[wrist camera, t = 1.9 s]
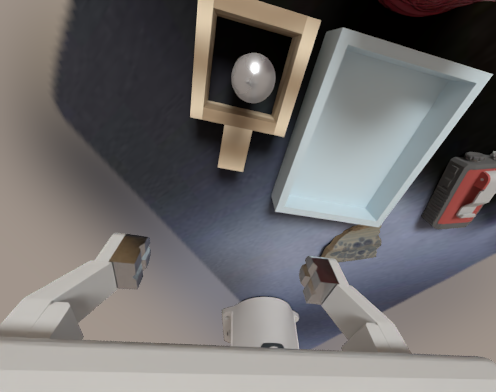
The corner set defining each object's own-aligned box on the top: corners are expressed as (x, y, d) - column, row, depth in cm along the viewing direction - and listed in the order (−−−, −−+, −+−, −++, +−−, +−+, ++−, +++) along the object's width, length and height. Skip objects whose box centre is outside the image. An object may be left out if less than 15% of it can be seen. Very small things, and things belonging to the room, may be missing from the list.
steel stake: (257, 89, 24) (268, 107, 15) (231, 83, 23) (227, 97, 15) (264, 58, 22) (281, 59, 14) (236, 50, 22) (235, 47, 13)
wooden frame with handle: (267, 163, 29) (271, 177, 25) (193, 149, 27) (187, 161, 24) (307, 26, 21) (321, 20, 17) (205, -5, 19) (199, -18, 16)
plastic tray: (365, 210, 34) (378, 227, 31) (271, 195, 32) (275, 211, 28) (456, 71, 24) (493, 74, 20) (326, 32, 21) (343, 27, 18)
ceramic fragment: (392, 222, 34) (381, 268, 38) (380, 212, 37) (371, 256, 41) (326, 228, 34) (323, 274, 39) (319, 218, 37) (317, 261, 41)
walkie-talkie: (464, 218, 37) (548, 93, 26) (489, 237, 33) (600, 99, 22) (414, 222, 37) (477, 98, 26) (434, 241, 33) (517, 105, 22)
